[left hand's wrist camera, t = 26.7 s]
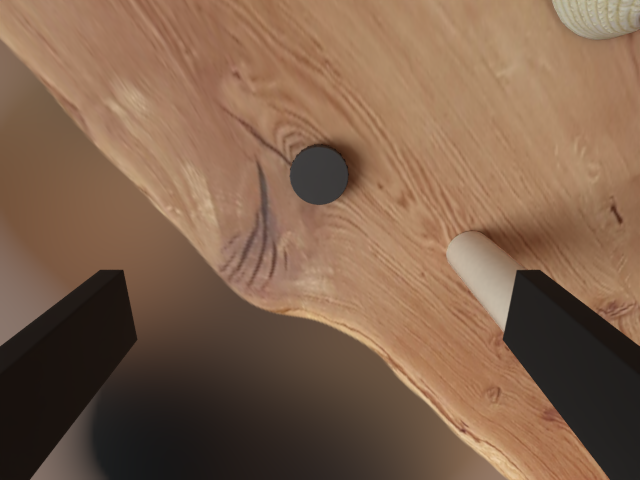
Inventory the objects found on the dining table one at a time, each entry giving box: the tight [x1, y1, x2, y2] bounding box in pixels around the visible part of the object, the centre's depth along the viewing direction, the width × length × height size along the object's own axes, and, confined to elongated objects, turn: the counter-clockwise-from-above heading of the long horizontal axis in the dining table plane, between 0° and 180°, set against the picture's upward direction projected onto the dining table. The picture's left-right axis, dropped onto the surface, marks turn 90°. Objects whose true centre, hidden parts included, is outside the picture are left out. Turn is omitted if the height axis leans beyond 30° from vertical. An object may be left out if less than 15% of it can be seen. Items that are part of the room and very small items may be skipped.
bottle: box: [447, 231, 528, 333], centre depth 33 cm, size 5×5×16 cm
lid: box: [290, 144, 349, 205], centre depth 37 cm, size 6×6×2 cm
